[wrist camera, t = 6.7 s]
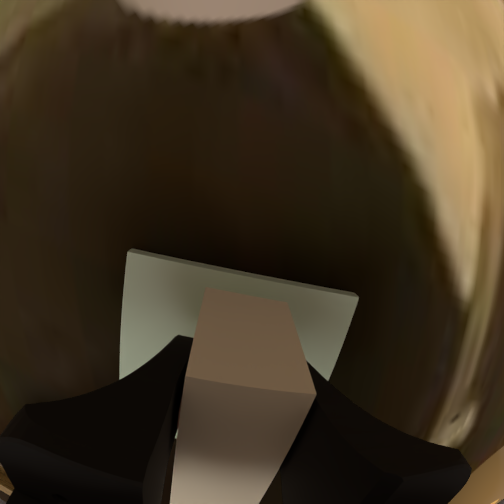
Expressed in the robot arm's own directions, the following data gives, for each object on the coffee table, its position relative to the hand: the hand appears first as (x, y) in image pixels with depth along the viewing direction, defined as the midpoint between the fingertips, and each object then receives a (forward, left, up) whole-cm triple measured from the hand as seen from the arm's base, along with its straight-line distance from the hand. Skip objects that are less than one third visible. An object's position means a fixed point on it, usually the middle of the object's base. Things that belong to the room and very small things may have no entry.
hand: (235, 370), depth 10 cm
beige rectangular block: (0, +3, -2) cm, 3 cm away
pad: (0, +2, -4) cm, 4 cm away
